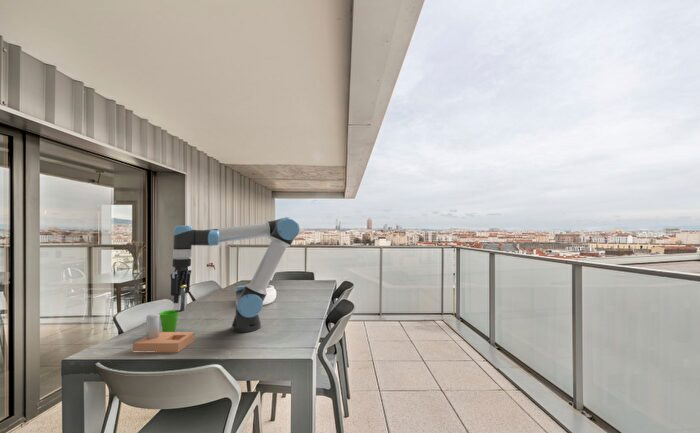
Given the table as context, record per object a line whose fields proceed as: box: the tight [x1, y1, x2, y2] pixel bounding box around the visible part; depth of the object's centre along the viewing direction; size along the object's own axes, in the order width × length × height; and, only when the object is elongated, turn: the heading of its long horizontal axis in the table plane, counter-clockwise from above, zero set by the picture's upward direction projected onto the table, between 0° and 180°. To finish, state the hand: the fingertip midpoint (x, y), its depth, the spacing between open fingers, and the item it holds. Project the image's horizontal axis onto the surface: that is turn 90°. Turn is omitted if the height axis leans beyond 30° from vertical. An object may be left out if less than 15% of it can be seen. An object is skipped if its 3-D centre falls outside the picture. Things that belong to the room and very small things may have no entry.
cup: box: [159, 309, 180, 332], centre depth 154 cm, size 9×9×11 cm
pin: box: [175, 284, 187, 313], centre depth 139 cm, size 5×5×12 cm
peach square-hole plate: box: [132, 313, 196, 353], centre depth 138 cm, size 20×14×14 cm
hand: (179, 308), depth 138 cm, fingers closed on pin, 4 cm apart
